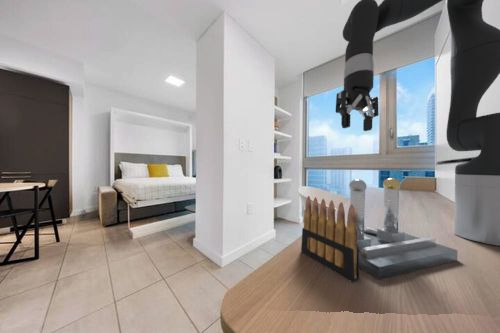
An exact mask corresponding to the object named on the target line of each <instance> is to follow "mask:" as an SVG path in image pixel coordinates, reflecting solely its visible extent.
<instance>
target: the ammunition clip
mask: <svg viewBox="0 0 500 333" xmlns="http://www.w3.org/2000/svg"><path fill="white" fill-rule="evenodd" d="M345 214H346V212H345V207H344V204H343V201H342V202H341V201H340V202H339V205H338V207H337V214H336V209H335V204H334V201H333V200H330V201H329V204H328V209H327V204H326V200H325V198H322V199H321V202H320V205H319V203H318V199H317V196H316V197H314V198H313V203H312V201H311V197H310V196H309V195H308V196H307V198H306V201H305V209H304V216H303V227H302V231H301V234H302V235H301V248H300V252H301V251H302V252H303V253H302V252H301V253H302V254H304V255H305V254H306V256H308V257H309V258H311V259H312V260H314V261H316V262H317V263H319V264H320V265H323V266H324V267H326V268H328V269H329V270H331V271H332V272H334V273H336V274H338V275H339V276H341V277H343V278H345V279H347V280H348V281H350V282H351V283H354V282H357V281H358V280H359V279H360V267H359V253H358V247H357V229H356V215H355V210H354V206H353V205H352V204H351V205H350V204H349V208H348V212H347V221H346V215H345Z"/></svg>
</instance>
